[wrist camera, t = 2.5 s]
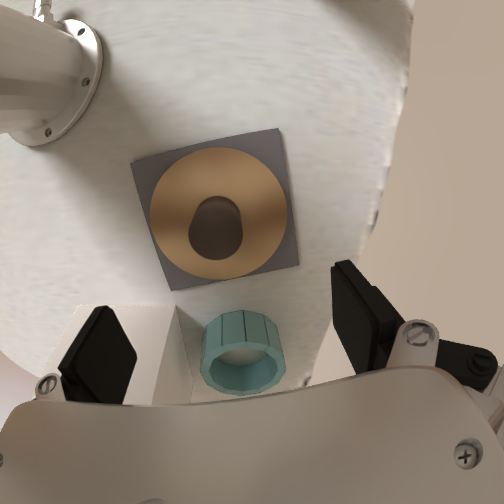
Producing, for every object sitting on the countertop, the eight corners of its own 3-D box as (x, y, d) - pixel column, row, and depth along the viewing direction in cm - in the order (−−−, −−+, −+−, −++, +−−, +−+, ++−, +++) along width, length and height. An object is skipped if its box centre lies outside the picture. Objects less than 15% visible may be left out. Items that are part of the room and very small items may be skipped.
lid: (137, 167, 20) (115, 176, 15) (273, 135, 20) (284, 135, 15) (174, 285, 24) (165, 315, 20) (293, 261, 24) (306, 288, 20)
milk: (78, 304, 25) (-18, 515, 1) (175, 304, 26) (136, 596, 2) (111, 376, 30) (70, 550, 6) (193, 381, 31) (188, 581, 7)
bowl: (194, 319, 26) (189, 349, 22) (272, 304, 26) (279, 334, 22) (215, 369, 30) (214, 399, 26) (282, 357, 30) (288, 387, 26)
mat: (132, 162, 20) (130, 163, 19) (277, 128, 20) (278, 128, 19) (171, 287, 25) (170, 290, 24) (297, 262, 25) (299, 265, 24)
